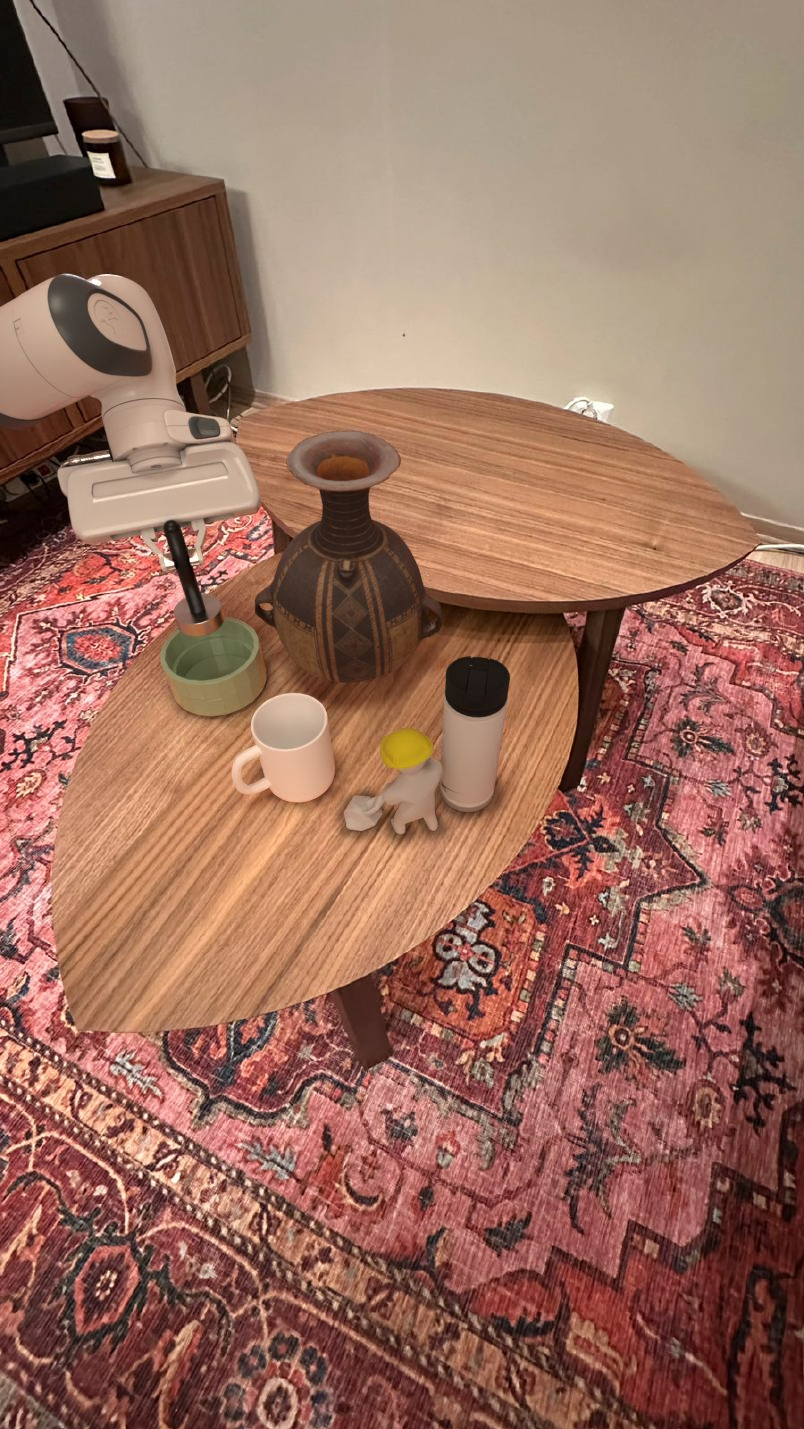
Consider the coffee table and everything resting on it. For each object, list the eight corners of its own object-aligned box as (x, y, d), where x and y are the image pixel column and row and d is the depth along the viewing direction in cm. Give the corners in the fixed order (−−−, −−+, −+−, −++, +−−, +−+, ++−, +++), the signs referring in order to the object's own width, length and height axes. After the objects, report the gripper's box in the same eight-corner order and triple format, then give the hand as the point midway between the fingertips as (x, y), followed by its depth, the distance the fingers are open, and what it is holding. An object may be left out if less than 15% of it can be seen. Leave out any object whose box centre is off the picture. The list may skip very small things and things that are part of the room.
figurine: (399, 768, 82) (396, 681, 71) (453, 815, 78) (460, 731, 66) (333, 816, 78) (320, 733, 66) (387, 870, 73) (382, 790, 62)
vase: (248, 684, 92) (193, 480, 69) (314, 598, 103) (286, 398, 80) (406, 734, 86) (403, 528, 63) (458, 636, 97) (471, 432, 74)
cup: (349, 781, 81) (342, 726, 73) (260, 834, 76) (242, 781, 69) (312, 737, 85) (302, 681, 78) (226, 785, 81) (205, 731, 73)
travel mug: (436, 812, 78) (440, 693, 63) (443, 765, 82) (449, 644, 67) (490, 819, 77) (509, 701, 62) (495, 772, 81) (513, 651, 66)
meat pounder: (185, 642, 81) (149, 542, 70) (172, 615, 84) (137, 515, 73) (230, 627, 82) (203, 527, 72) (216, 600, 85) (188, 501, 75)
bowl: (188, 732, 86) (174, 697, 81) (163, 670, 94) (149, 635, 89) (280, 697, 90) (272, 662, 85) (249, 641, 97) (240, 605, 92)
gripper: (43, 449, 70) (79, 582, 71) (242, 417, 74) (273, 544, 75) (61, 468, 76) (94, 590, 77) (244, 438, 80) (272, 555, 81)
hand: (184, 567), depth 76 cm, fingers closed on meat pounder
